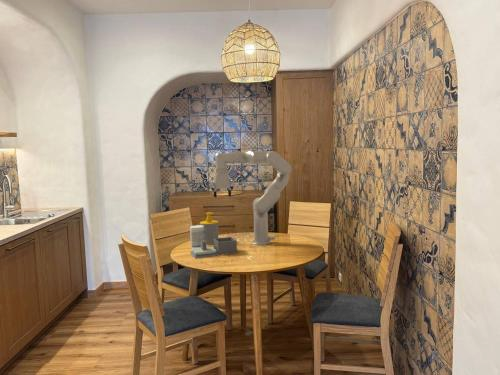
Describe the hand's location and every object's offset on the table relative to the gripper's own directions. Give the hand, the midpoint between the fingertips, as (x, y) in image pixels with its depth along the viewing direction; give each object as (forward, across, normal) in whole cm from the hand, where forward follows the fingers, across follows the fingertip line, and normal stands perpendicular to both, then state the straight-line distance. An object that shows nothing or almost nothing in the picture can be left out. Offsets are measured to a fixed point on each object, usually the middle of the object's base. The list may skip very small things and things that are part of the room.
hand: (222, 196), depth 283 cm
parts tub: (+33, +4, +17) cm, 38 cm away
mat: (+33, +18, +17) cm, 41 cm away
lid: (+31, +18, +17) cm, 40 cm away
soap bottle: (+34, +7, -13) cm, 37 cm away
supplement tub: (+34, +18, -1) cm, 38 cm away
